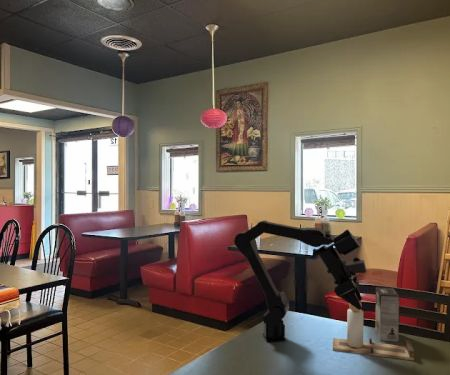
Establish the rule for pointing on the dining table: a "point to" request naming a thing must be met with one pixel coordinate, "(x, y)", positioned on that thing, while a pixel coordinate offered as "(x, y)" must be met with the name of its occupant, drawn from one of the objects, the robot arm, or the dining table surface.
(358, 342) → the post
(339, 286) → the robot arm
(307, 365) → the dining table surface
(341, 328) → the dining table surface
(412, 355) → the level stand
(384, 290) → the coffee box
